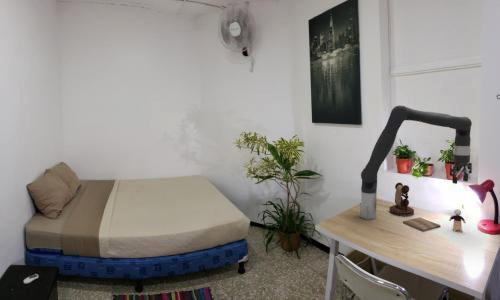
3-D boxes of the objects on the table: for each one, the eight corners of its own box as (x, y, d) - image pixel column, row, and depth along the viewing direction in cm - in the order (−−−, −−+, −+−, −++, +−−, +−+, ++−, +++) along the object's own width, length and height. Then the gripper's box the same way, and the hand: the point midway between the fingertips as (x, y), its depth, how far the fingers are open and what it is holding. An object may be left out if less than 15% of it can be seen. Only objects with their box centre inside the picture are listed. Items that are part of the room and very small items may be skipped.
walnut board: (422, 231, 169) (423, 229, 169) (402, 223, 182) (402, 221, 182) (440, 227, 174) (440, 225, 174) (419, 219, 187) (419, 217, 187)
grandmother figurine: (463, 229, 170) (464, 208, 168) (465, 232, 166) (467, 211, 164) (447, 228, 172) (448, 207, 170) (449, 231, 169) (450, 210, 167)
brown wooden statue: (384, 209, 205) (385, 181, 202) (404, 208, 207) (405, 180, 204) (397, 217, 191) (398, 187, 188) (419, 215, 192) (420, 185, 189)
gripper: (463, 151, 168) (462, 179, 171) (445, 154, 163) (444, 182, 166) (477, 153, 161) (475, 182, 164) (459, 156, 156) (457, 185, 159)
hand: (460, 182), depth 165 cm, fingers open, 8 cm apart
